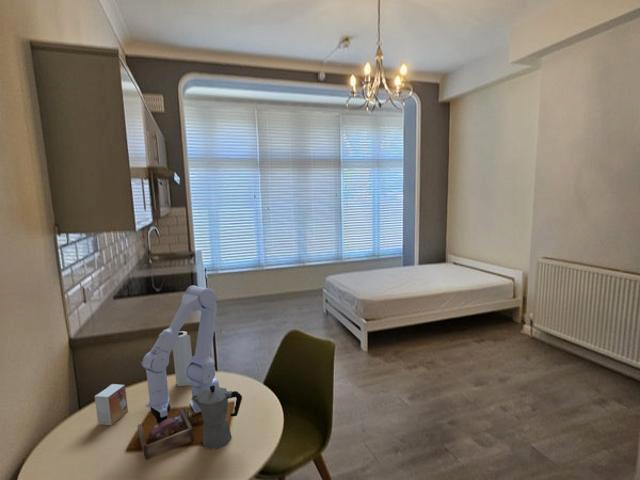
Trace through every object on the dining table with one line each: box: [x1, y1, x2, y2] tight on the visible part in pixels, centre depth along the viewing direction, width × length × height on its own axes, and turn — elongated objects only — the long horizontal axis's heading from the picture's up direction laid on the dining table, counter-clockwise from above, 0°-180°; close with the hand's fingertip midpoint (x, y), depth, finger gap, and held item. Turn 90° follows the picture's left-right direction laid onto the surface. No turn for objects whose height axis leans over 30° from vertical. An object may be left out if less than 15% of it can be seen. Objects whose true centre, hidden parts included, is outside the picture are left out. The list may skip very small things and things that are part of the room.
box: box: [137, 408, 195, 461], centre depth 112 cm, size 14×13×4 cm
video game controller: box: [148, 416, 183, 440], centre depth 113 cm, size 10×5×7 cm, turn 130°
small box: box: [94, 383, 129, 426], centre depth 123 cm, size 8×6×10 cm
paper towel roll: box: [172, 330, 193, 387], centre depth 143 cm, size 7×6×21 cm
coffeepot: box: [191, 385, 243, 450], centre depth 109 cm, size 15×9×18 cm, turn 94°
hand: (162, 425), depth 116 cm, fingers closed
